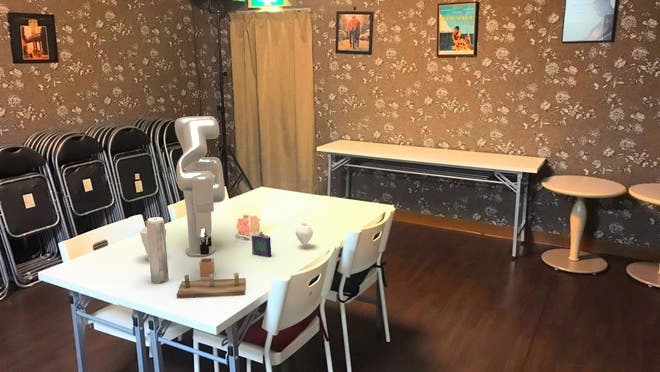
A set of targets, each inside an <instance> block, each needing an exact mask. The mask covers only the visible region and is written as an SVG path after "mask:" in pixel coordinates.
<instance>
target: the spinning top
mask: <svg viewBox="0 0 660 372" xmlns="http://www.w3.org/2000/svg"><path fill="white" fill-rule="evenodd" d="M313 234H314V231H313V228H311V226H310V225H308V224H307V221H306V222H305V221H302V222H301V225H298V227H297V228H296V230H295V236H296V238H297V240H298V242H300V243H301V245H302V246H303V248H304V249H305V248H306V246H307V245H308V244H309V242H310V240H311V239H312V237H313Z"/></svg>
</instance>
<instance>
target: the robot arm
mask: <svg viewBox="0 0 660 372" xmlns="http://www.w3.org/2000/svg"><path fill="white" fill-rule="evenodd" d="M174 131H175V135H176V137H177V140H178V142H179V144H180V147H181V149H182V153H183V154H182V155H181V156H180V158H179V159H178V161H177V164H176V169H175V170H176V171H175V172H176V182H177V186H178V189H179V190H180V191H182V193H183V198H184V202H185V211H186V216H187V217H186V218H187V219H186V220H187V223H186V224H187V235H188V248H186V249H185V254H186V255H187V256H189V257H193V258H194V257H196V258H197V257H198V258H199V257H201V258H202V257H207V256H211V255H213V254H214V253H215V251H216V248H215V246H213V245H212V236H211V235H212V231H213V230H212V228H213V227H212V226H213V225H212V224H213V223H212V213H213V212H214V211H215V207H214V204H215V203H221V202H223V201H224V200H225V198H226V188H225V179H224V170H223V164H222V161H221V159H220V158H218V157H217V156H206V155H207V154H208V146H207V140H212V139H214V140H215V139H217V138H219V135H220V125H219V122H218V120H217V119H216V118H215V117H214V116H211V115H206V116H205V115H202V116H199V115H198V116H183V117H180V118H179V117H178V118H177V119H176V120H175V121H174Z"/></svg>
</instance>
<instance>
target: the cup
mask: <svg viewBox="0 0 660 372" xmlns="http://www.w3.org/2000/svg"><path fill="white" fill-rule="evenodd" d="M139 233H140V234H139V235H140V238H141V241H142V244H143V247H144V250H145V253H146V256H147V260H148V262H150V261H149V249H148V237H147V226H145V227H142V228H141V229H140V230H139ZM165 236H166V237H167V227H166V226H165Z"/></svg>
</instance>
